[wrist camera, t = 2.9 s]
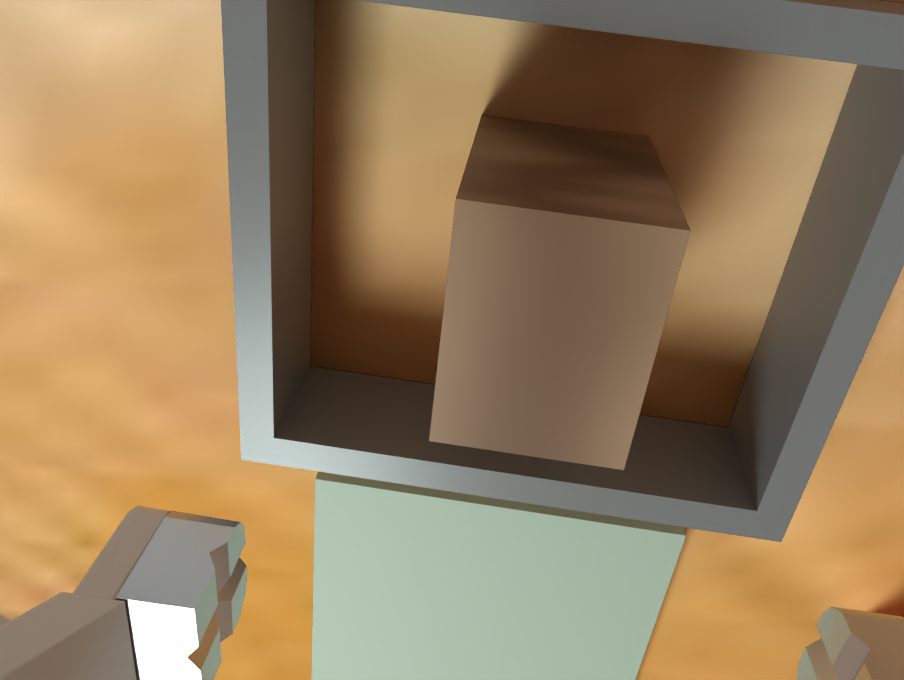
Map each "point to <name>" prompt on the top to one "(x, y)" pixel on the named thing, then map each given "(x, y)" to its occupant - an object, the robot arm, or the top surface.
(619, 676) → the place mat
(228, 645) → the top surface
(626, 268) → the walnut block
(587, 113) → the top surface
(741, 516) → the bin
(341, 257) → the top surface
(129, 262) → the top surface
